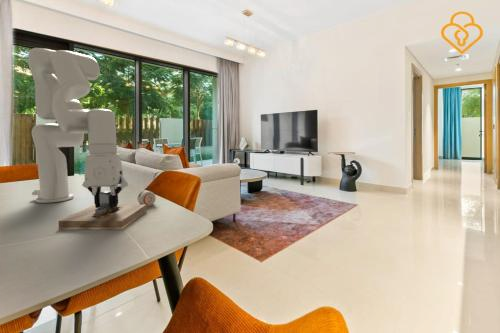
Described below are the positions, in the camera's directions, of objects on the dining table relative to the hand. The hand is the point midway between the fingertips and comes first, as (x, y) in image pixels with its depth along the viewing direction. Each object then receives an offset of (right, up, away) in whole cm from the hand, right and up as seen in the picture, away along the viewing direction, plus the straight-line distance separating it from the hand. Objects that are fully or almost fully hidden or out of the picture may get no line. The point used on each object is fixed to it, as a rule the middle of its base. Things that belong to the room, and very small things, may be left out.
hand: (106, 206), depth 82 cm
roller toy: (+6, -3, +17) cm, 19 cm away
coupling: (0, -1, 0) cm, 1 cm away
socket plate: (0, -4, 0) cm, 4 cm away
